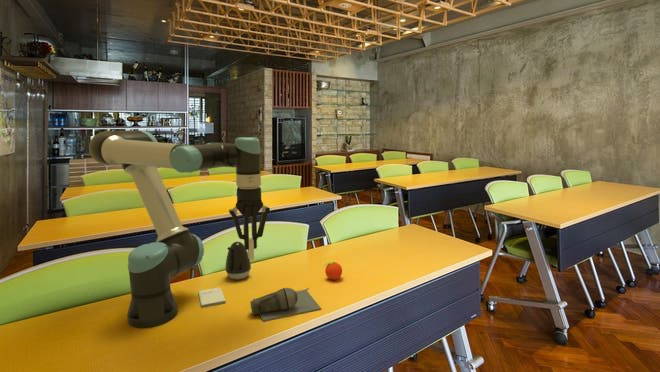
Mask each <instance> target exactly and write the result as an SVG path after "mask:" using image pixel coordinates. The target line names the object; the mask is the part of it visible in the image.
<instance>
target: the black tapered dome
mask: <svg viewBox="0 0 660 372" xmlns="http://www.w3.org/2000/svg"><path fill="white" fill-rule="evenodd" d="M226 249H227V250H228V251H227V255H226V260H225V267H224V269H225V272H226V274H227V276H228V277H229V278H230V279H231V280H235V281H236V280H243V279H245V278H247V277H248V275H249V274H250V271H251V270H252V265H251V260H249V258H248V250H246V249H245V247H244V243H243V242H241V241H234V242H232V243H231V245H230V246H228V247H227V248H226Z"/></svg>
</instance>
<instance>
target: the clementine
mask: <svg viewBox="0 0 660 372" xmlns="http://www.w3.org/2000/svg"><path fill="white" fill-rule="evenodd" d="M325 266H326V267H325ZM323 267H325V271H324V272H325V275H326V277H327V278H328V279H330V280H334V281H335V280H338V279H339V278H341V276H342V274H343V268H342V266H341V264H339V263H338V262H335V261H333V262H327V263H325V264H324V265H323Z"/></svg>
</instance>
